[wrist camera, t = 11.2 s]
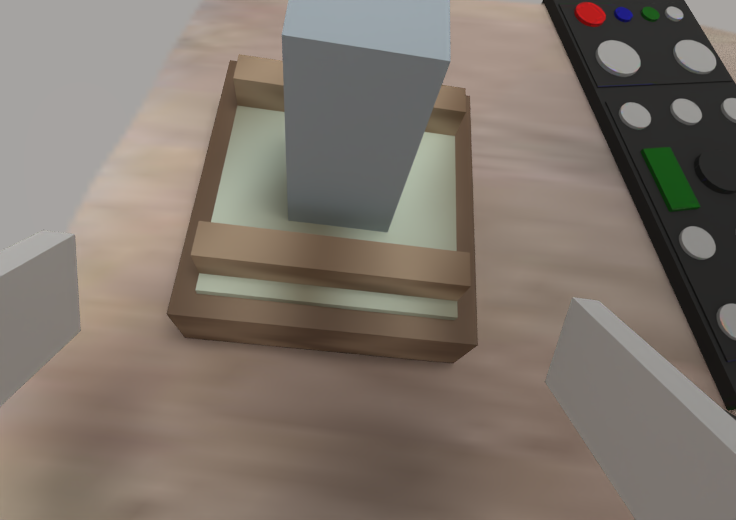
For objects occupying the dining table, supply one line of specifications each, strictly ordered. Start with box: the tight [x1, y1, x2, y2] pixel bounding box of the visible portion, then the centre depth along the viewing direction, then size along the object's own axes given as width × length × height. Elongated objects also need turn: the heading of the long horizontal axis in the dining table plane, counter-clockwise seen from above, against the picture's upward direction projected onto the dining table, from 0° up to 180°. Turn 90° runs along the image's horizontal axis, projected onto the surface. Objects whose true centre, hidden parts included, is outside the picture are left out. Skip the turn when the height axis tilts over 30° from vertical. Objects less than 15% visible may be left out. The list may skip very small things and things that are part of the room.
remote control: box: [541, 0, 736, 410], centre depth 32 cm, size 11×30×2 cm, turn 10°
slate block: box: [282, 0, 450, 232], centre depth 18 cm, size 4×4×10 cm
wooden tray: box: [167, 54, 478, 363], centre depth 24 cm, size 13×14×6 cm
